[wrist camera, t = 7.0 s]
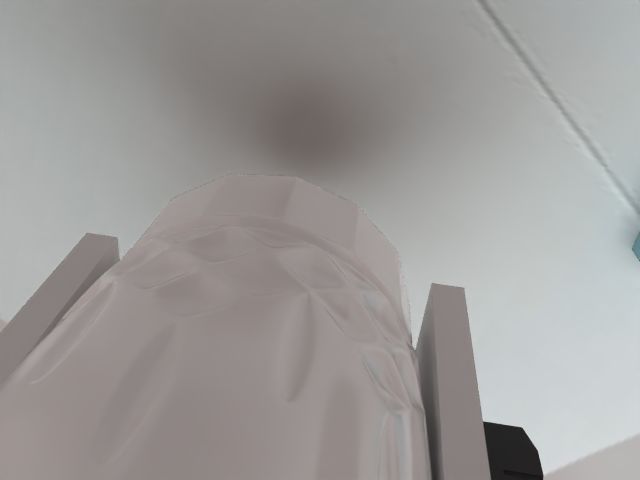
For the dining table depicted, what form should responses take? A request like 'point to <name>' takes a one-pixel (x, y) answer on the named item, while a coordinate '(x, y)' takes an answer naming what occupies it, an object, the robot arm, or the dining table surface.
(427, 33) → the dining table surface
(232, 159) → the dining table surface
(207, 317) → the white cup
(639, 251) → the dusty teal block
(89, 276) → the robot arm
